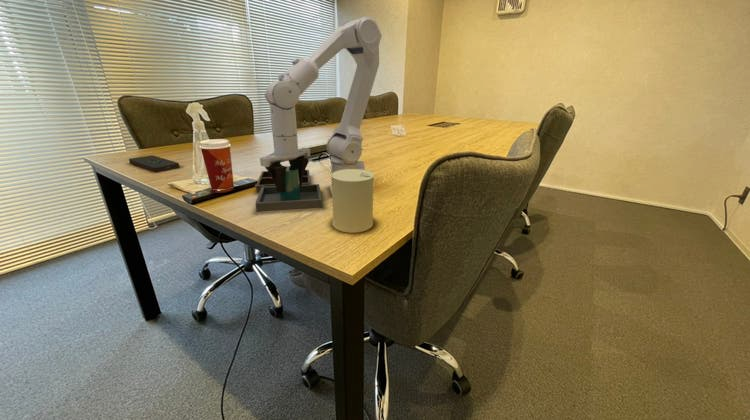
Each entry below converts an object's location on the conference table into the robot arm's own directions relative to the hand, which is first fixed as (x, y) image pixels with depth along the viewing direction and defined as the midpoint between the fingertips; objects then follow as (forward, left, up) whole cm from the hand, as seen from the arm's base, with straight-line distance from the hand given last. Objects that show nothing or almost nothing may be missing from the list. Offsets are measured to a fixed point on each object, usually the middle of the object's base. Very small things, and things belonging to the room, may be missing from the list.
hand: (289, 188), depth 78 cm
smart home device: (+49, -44, -4) cm, 66 cm away
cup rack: (+2, -15, -4) cm, 16 cm away
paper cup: (+19, -12, -4) cm, 23 cm away
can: (-14, +16, -4) cm, 22 cm away
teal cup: (0, 0, -3) cm, 3 cm away
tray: (0, 0, -4) cm, 4 cm away
